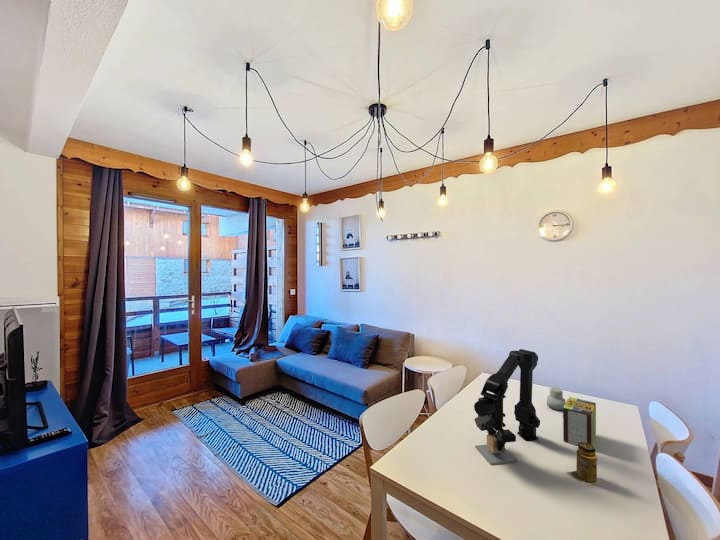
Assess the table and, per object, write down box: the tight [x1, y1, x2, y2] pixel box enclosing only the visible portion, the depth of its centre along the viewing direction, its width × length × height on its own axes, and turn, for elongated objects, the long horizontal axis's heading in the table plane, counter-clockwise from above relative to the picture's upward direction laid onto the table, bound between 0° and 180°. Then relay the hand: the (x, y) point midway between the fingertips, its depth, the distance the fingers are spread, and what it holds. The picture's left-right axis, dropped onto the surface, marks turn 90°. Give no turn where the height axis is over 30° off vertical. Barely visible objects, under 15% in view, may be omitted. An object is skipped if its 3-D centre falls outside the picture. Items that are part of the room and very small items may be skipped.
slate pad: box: [474, 444, 519, 466], centre depth 127 cm, size 12×12×1 cm
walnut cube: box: [486, 434, 506, 454], centre depth 127 cm, size 5×5×5 cm
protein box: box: [562, 396, 597, 447], centre depth 138 cm, size 10×15×16 cm
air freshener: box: [546, 387, 566, 411], centre depth 169 cm, size 11×8×10 cm
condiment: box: [565, 442, 603, 487], centre depth 113 cm, size 7×8×12 cm
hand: (495, 446), depth 127 cm, fingers closed on walnut cube, 5 cm apart
